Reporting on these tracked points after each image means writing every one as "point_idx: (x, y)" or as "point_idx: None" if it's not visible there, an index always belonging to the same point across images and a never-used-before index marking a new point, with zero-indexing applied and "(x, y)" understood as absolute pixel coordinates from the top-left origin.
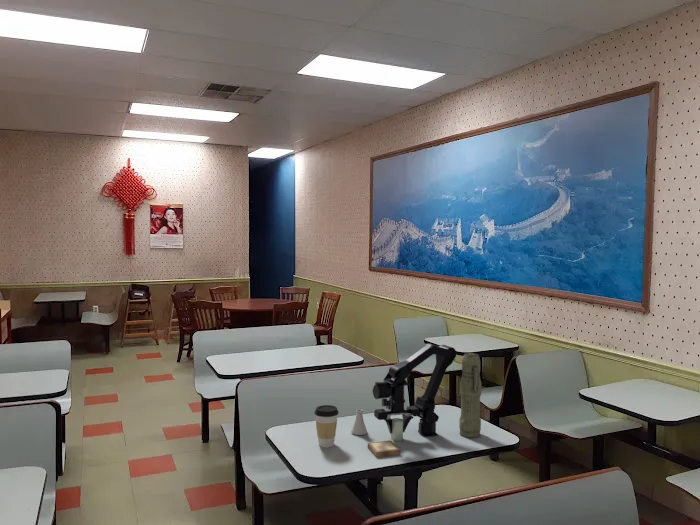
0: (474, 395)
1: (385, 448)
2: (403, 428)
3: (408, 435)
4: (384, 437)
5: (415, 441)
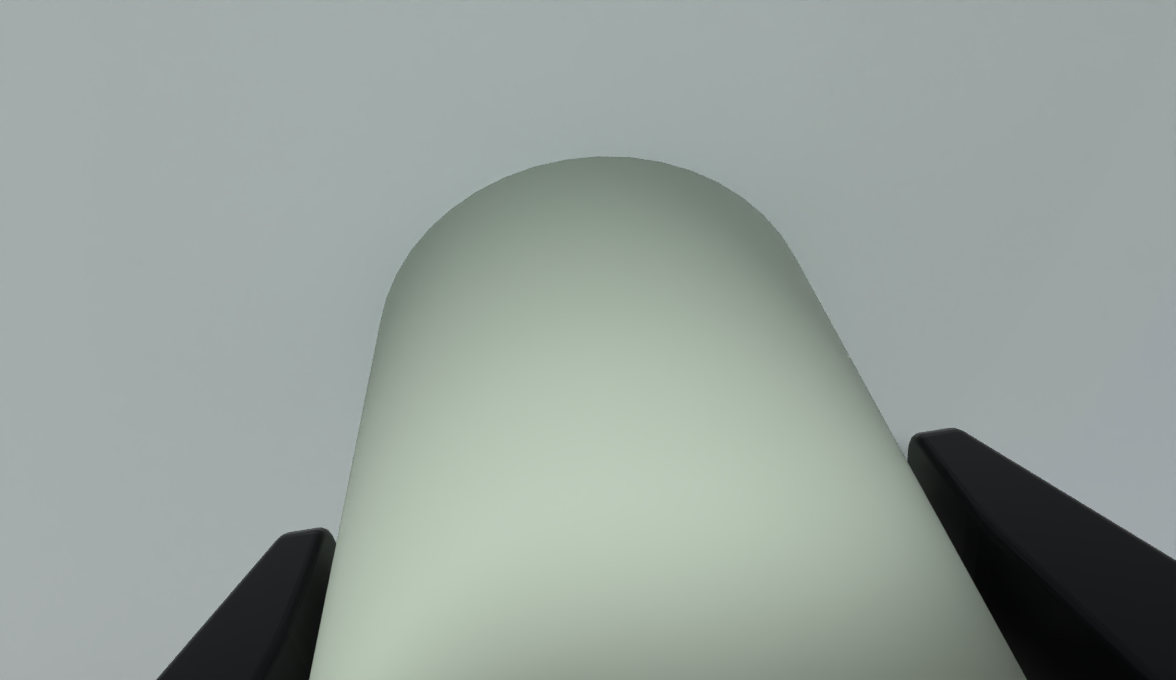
0: None
1: None
2: None
3: (1168, 91)
4: (118, 198)
5: None
